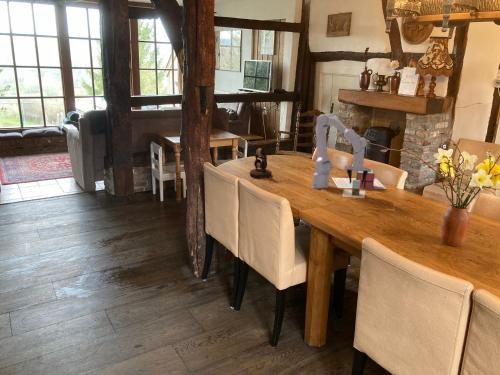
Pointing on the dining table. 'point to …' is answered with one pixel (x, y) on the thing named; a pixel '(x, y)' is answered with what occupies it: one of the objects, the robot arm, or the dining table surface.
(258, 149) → the dark brown figurine
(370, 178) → the puzzle cube
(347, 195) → the board
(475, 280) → the dining table surface
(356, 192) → the walnut block
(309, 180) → the dining table surface
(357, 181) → the gray block
